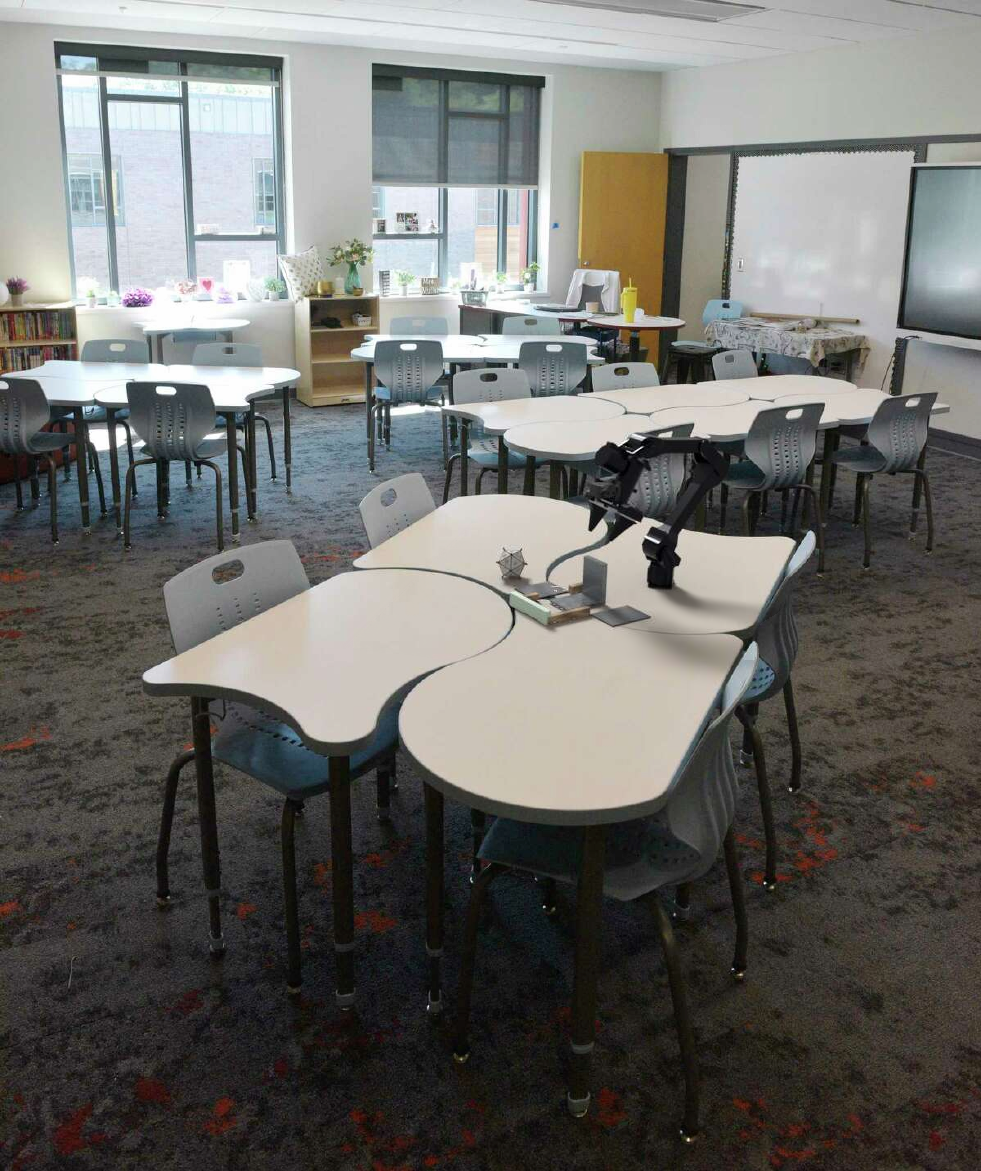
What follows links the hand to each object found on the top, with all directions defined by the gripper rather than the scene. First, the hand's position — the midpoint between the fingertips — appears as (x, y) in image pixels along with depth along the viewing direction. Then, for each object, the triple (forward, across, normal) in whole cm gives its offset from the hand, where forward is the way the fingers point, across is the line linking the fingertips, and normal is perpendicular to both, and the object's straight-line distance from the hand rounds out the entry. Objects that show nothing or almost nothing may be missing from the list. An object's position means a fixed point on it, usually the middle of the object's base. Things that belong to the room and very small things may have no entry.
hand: (599, 536), depth 276 cm
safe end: (+25, +3, -12) cm, 28 cm away
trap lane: (+19, +2, -1) cm, 19 cm away
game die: (+21, -24, -3) cm, 31 cm away
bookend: (+18, +2, +1) cm, 18 cm away
